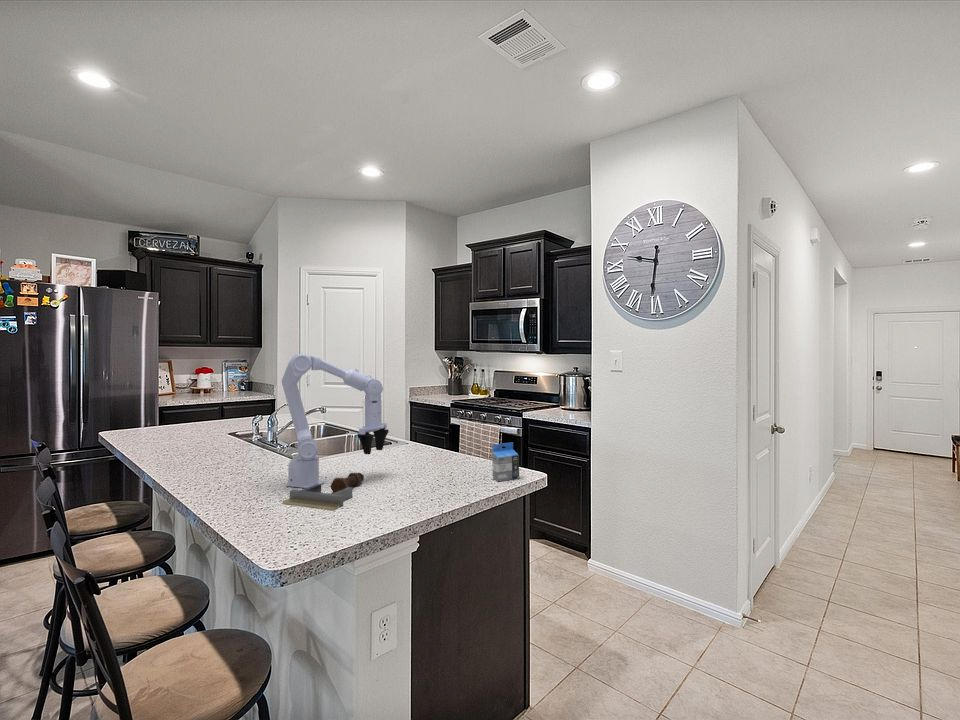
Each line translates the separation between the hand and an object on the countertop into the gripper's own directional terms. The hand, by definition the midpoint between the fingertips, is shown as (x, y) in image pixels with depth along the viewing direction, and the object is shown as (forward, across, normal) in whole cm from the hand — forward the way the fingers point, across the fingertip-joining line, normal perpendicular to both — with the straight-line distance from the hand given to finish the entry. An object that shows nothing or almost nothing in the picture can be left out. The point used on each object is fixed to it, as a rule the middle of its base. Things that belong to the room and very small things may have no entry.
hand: (373, 452), depth 176 cm
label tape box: (+10, +16, -44) cm, 47 cm away
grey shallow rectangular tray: (+9, -28, 0) cm, 29 cm away
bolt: (+10, -13, +1) cm, 16 cm away
